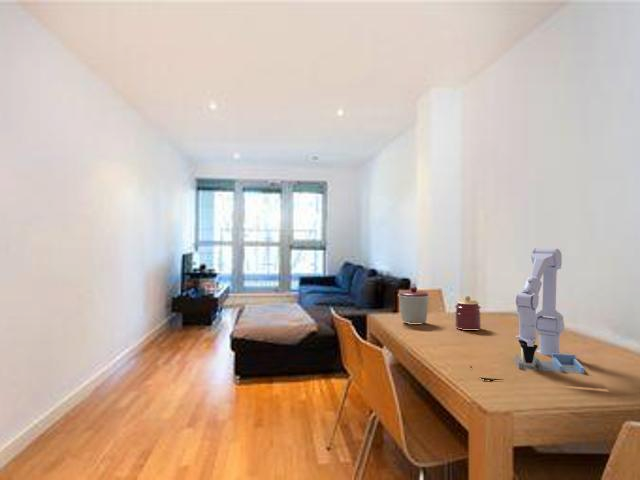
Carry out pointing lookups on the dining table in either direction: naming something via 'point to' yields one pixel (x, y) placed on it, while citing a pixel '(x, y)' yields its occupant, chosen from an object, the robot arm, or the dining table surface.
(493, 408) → the dining table surface
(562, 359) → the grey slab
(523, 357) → the block
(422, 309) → the canister
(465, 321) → the canister
